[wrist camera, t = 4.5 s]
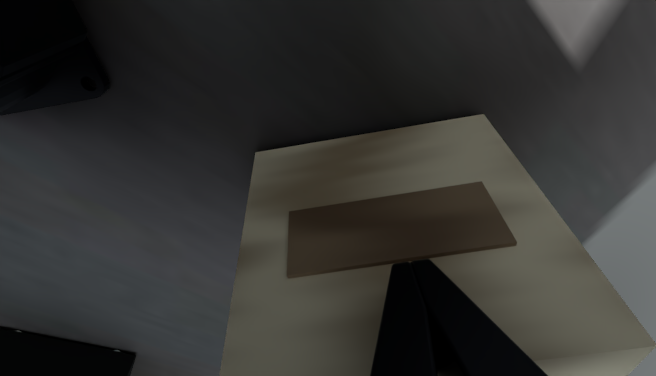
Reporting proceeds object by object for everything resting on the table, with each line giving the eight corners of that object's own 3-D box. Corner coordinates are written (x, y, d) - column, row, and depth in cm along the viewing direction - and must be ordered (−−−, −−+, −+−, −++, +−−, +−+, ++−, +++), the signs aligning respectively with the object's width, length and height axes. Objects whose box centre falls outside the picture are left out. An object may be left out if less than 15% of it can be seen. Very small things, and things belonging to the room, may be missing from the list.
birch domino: (274, 205, 16) (256, 438, 10) (254, 149, 14) (212, 398, 8) (475, 173, 16) (604, 398, 9) (484, 110, 14) (660, 342, 7)
